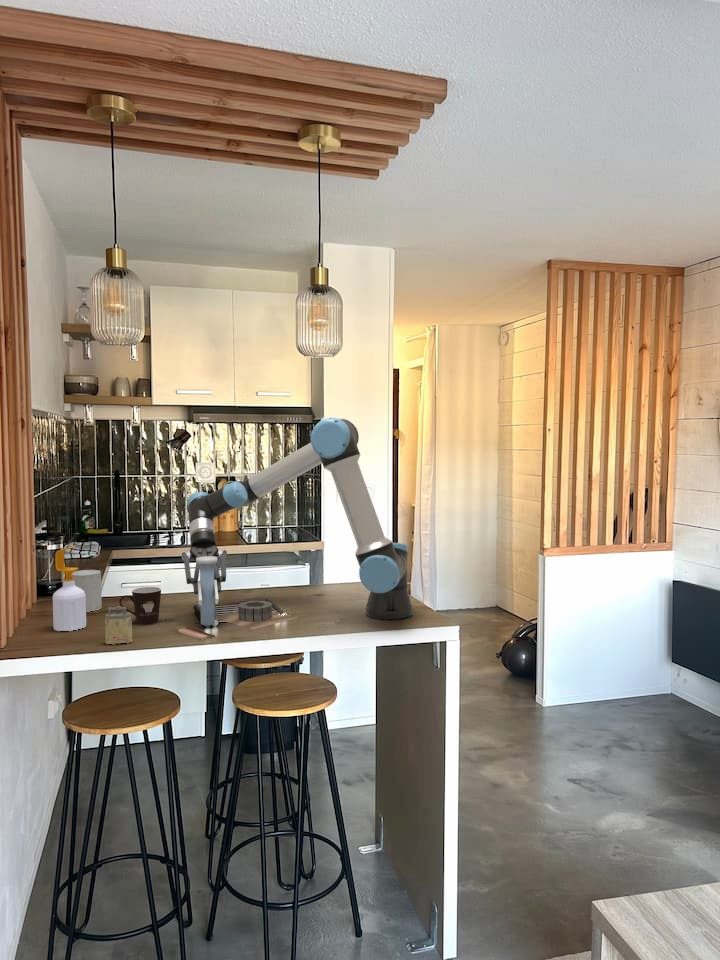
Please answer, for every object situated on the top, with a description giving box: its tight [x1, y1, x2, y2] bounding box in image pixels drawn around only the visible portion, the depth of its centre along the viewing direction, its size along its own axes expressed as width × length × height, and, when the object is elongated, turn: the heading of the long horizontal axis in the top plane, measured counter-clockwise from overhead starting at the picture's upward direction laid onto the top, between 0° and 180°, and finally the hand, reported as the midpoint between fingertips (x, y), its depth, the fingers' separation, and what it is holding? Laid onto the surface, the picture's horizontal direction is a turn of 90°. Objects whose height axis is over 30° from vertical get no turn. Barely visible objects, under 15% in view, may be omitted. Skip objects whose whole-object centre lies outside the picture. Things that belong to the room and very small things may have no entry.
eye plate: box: [215, 600, 300, 630], centre depth 215 cm, size 20×18×6 cm
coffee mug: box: [118, 586, 162, 626], centre depth 215 cm, size 12×9×10 cm
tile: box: [178, 626, 216, 641], centre depth 205 cm, size 12×12×1 cm
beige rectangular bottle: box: [104, 605, 133, 645], centre depth 194 cm, size 7×4×10 cm, turn 101°
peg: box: [195, 556, 218, 626], centre depth 204 cm, size 6×6×19 cm
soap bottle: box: [52, 545, 87, 632], centre depth 208 cm, size 9×9×25 cm
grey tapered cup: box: [72, 569, 103, 613], centre depth 231 cm, size 10×10×12 cm
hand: (208, 601), depth 200 cm, fingers closed on peg, 4 cm apart
